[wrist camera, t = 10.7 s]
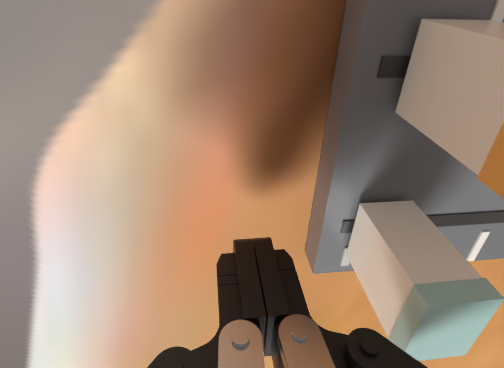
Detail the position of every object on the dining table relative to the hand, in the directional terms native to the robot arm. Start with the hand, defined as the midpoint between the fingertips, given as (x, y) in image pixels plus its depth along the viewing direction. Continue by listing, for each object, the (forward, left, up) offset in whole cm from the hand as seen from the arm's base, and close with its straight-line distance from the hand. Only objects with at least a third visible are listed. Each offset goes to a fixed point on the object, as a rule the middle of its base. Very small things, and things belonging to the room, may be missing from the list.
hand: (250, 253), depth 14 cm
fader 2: (-6, 0, -1) cm, 6 cm away
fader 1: (-6, -7, -1) cm, 10 cm away
